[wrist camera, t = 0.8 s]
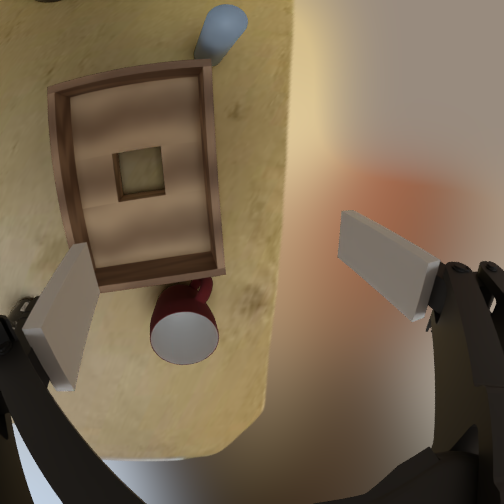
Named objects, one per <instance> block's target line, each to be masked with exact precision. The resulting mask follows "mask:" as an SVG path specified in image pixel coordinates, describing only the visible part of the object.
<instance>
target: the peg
mask: <svg viewBox="0 0 504 504" xmlns="http://www.w3.org/2000/svg"><path fill="white" fill-rule="evenodd" d="M247 24H248V20H247V16H246V14H245V13H244V12H243V11H242V10H241V9H240V8H238V7H236V6H233V5H228V4H224V5H219V6H216V7H214V8H213V9H211V10H210V11H209V13H208V14H207V17H206V20H205V22H204V25H203V28H202V31H201V33H200V36H199V39H198V42H197V45H196V48H195V51H194V58H195V59H211V61H212V66H215V65H217V64H218V63H220V61H221V60H222V59H223V57H224V56H225V55H226V53H227V52H228V51H229V50H230V48H231V47H232V46H233V44H234V43H235V42H236V41H237V39H238V38H239V37H240V36H241V34H242V33H243V32H244V31H245V29H246V28H247Z"/></svg>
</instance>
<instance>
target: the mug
mask: <svg viewBox="0 0 504 504" xmlns="http://www.w3.org/2000/svg"><path fill="white" fill-rule="evenodd" d="M199 287H200V289H199V291H197V289H198V288H199ZM212 287H213V281H212V278H211V277H207V278H201V279H194V280H193V281H192V282H191V284H190V285H189V286H188V285H183V284H176V285H173V286H171V287H169V288H167V289H166V290H165V291H163V292H162V294H161V295H160V296H159V298H158V300H157V303H156V306H155V309H154V312H153V315H152V318H151V323H150V342H151V346H152V348H153V350H154V351H155V353H156V354H157V355H158V356H159V357H160V358H162V359H163V360H165V361H167V362H170V363H173V364H179V365H189V364H194V363H197V362H200V361H202V360H204V359H206V358H207V357H209V356H210V355H211V354H212V353H213V352H214V350H215V349H216V347H217V345H218V341H219V333H218V329H217V325H216V321H215V318H214V316H213V314H212V312H211V310H210V309H209V307H208V305H207V304H206V301H207V300H208V298H209V296H210V294H211V291H212Z"/></svg>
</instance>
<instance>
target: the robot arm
mask: <svg viewBox="0 0 504 504" xmlns="http://www.w3.org/2000/svg"><path fill="white" fill-rule="evenodd" d="M36 1H40V2H54V1H59V0H36ZM338 258H339V259H340V260H342V261H343V262H344V263H345V264H346V265H348V266H349V267H350V268H351V269H353V270H354V271H355V272H356V273H357V274H358V275H359V276H361V277H362V278H363V279H364V280H365V281H366V282H368V283H369V284H370V285H371V286H372V287H373V288H374V289H376V290H377V291H378V292H379V293H380V294H381V295H382V296H384V297H385V298H386V299H387V300H388V301H389V302H390V303H392V304H393V305H394V306H395V307H396V308H397V309H398V310H399V311H400V312H402V313H403V314H404V315H405V316H406V317H407V318H408V319H409V320H410V321H412V322H413V321H416V320H419V319H421V318H424V316H425V313H426V310H427V306H428V305H429V306H430V307H431V308H432V309H433V310H432V314H431V316H430V319H429V322H428V325H427V328H426V331H428V330H429V328H430V327H432V330H431V332H432V337H433V349H434V366H435V428H434V441H433V445H432V448H430V447H428V448H426V449H425V450H423V451H421V452H420V453H418V454H417V455H415V456H414V457H412V458H410V459H409V460H407V461H405V462H403V463H402V464H400V465H398V466H397V467H396V468H395V469H394V470H393V471H392V472H391V473H390V474H389V475H387V476H386V477H385V478H384V479H383V480H382V481H381V482H379V484H377V485H376V486H375V487H374V488H372V489H371V490H370V491H369V492H367V493H365V494H363V495H359V496H355V497H350V498H345V499H339V500H333V501H328V502H321V503H315V504H504V271H503V270H502V269H501V268H500V267H499V266H498V265H496V264H495V263H493V262H490V261H489V262H487V261H483V262H480V265H479V269H478V272H472V270H471V269H470V268H469V267H468V266H466V265H464V264H462V263H459V262H448V263H447V264H446V265H445V264H443V263H442V262H440V260H439V259H438V258H436V257H435V256H433V255H431V254H430V253H428V252H426V251H425V250H423V249H421V248H420V247H418V246H416V245H415V244H413V243H411V242H410V241H408V240H406V239H405V238H403V237H401V236H399V235H397V234H396V233H394V232H392V231H391V230H389V229H387V228H385V227H383V226H382V225H380V224H378V223H376V222H374V221H373V220H370V219H369V218H367V217H365V216H363V215H361V214H359V213H357V212H356V211H354V210H348V211H342V213H341V226H340V237H339V248H338ZM99 294H100V290H99V287H98V283H97V280H96V276H95V273H94V269H93V265H92V261H91V257H90V253H89V249H88V245H87V242H85V243H79V244H73V245H72V247H71V248H70V250H69V251H68V252H67V254H66V255H65V257H64V258H63V260H62V261H61V263H60V265H59V266H58V268H57V269H56V271H55V272H54V274H53V275H52V277H51V279H50V280H49V282H48V284H47V285H46V287H45V288H44V290H43V292H42V294H41V295H40V296H36V297H35V298H34V299H33V300H32V301H31V302H30V303H29V304H28V306H27V307H26V309H25V311H24V313H23V314H22V316H21V319H19V321H18V323H17V325H16V327H15V329H14V330H13V327H12V325H11V323H10V321H9V319H8V318H7V317H6V316H5V315H0V504H34V502H33V500H32V497H31V494H30V491H29V488H28V485H27V482H26V479H25V475H24V472H23V469H22V465H21V462H20V457H19V454H18V449H17V445H16V441H15V437H14V431H13V426H12V420H11V416H12V418H13V420H14V423H15V425H16V427H17V429H18V431H19V433H20V435H21V437H22V438H23V441H24V442H25V444H26V446H27V448H28V450H29V452H30V453H31V455H32V457H33V459H34V460H35V462H36V464H37V465H38V467H39V469H40V470H41V472H42V473H43V475H44V477H45V478H46V480H47V481H48V483H49V484H50V486H51V487H52V489H53V490H54V492H55V493H56V494H57V495H58V497H59V498H60V500H61V501H62V503H63V504H146V503H145V502H144V501H143V500H142V499H140V498H139V497H138V496H137V495H136V494H135V493H134V492H133V491H132V490H131V489H130V488H129V487H127V486H126V484H124V483H123V482H122V481H121V480H120V479H119V478H118V477H117V476H116V474H114V472H113V471H112V470H111V469H110V468H109V467H108V466H107V465H106V464H105V463H104V462H103V461H102V460H101V458H100V457H99V456H98V455H97V454H96V453H95V452H94V451H93V449H92V448H91V447H90V446H89V445H88V443H87V442H86V441H85V440H84V439H83V437H82V436H81V435H80V434H79V432H78V431H77V430H76V429H75V427H74V426H73V425H72V423H71V422H70V421H69V419H68V418H67V417H66V415H65V414H64V413H63V411H62V410H61V408H60V407H59V405H58V404H57V403H56V401H55V400H54V398H53V397H52V395H51V394H50V392H49V391H48V389H47V387H48V384H49V380H50V381H51V383H52V385H53V386H54V388H55V389H56V391H75V387H76V382H77V377H78V372H79V368H80V363H81V359H82V355H83V351H84V347H85V343H86V339H87V335H88V331H89V328H90V324H91V321H92V317H93V314H94V310H95V307H96V304H97V300H98V297H99ZM494 297H495V299H496V306H495V308H494V311H493V313H491V312H490V307H491V305H492V302H493V299H494Z"/></svg>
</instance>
